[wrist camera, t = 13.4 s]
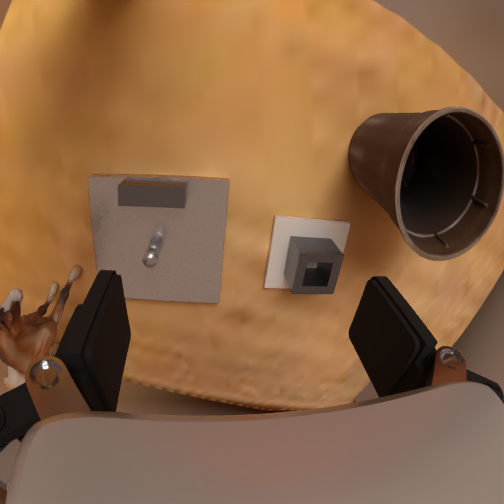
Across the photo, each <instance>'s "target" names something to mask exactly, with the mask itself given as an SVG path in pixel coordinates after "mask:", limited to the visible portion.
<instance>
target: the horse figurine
mask: <svg viewBox="0 0 504 504" xmlns="http://www.w3.org/2000/svg"><path fill="white" fill-rule="evenodd" d="M81 272H82V268H81V266H78V265H76V266H75V267H74V268H73V269H72V272H71V274H70V276H69V279H68V282H67V284H66V285H65V287H64V288H63V289H62V290H61V292H60V297H59V300H58V302H57V304H56V306H55V307H54V310H53V312H52V314H51V315H50V316H48V317H42V316H43V315H44V314H45V313H46V312H47V308H48V306H49V305H50V303H52V301H53V295H54V294H55V293H56V291H57V289H58V288H59V286H58V283H57V282H55V281H53V282H52V283H51V287H50V293H49V295H48V297H47V299H46V303H45V304H44V305H42V306H40V307H39V308H38V310H37V311H36V312H34V313H31V314H28V315H23V316H20V314H21V311H20V305H21V302H22V299H23V292H22V290H19V289H18V288H14V289H12V290H10V294H9V297H8V298H7V299H6V301H5V302H4V303H3V304H2V305H1V306H0V359H1V360H2V361H3V362H4V363H5V364H7V365H8V374H7V375H6V376H5V377H4V382H5V385H6V386H7V388H8V390H9V391H10V390H12V389H14V388H16V387H18V386H19V385H21V384H23V383H25V372H26V369H27V367H28V366H29V365H30V364H31V363H32V361H34V360H36V359H37V358H40V357H43V356H50V353H49V348H50V346H51V345H52V343H53V341H54V339H55V337H56V335H57V324H58V322H59V320H60V319H61V316H62V313H63V310H64V305H65V303H66V301H67V299H68V296H69V290H70V288H71V286H72V284H73V282H74V281H75V279H76V277H78V276H79V275H80V274H81ZM58 346H59V343H57V342H54V343H53V352H52V354H51V356H53V357H54V356H55V354H56V351H57V349H58Z"/></svg>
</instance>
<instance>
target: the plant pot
mask: <svg viewBox="0 0 504 504" xmlns="http://www.w3.org/2000/svg"><path fill="white" fill-rule="evenodd" d="M413 151H415V160H414V165H413V167H411V163H412V153H413ZM349 164H350V169H351V172H352V174H353V177H354V178H355V179H356V181H357V182H358V184H359V185H360V186H361V187H362V188H363V189H364V190H365V191H366V192H367V193H368V194H369V195H370V196H371V197H372V198H374V199H375V200H376V201H377V202H378V203H379V204H380V205H381V206H382V207H383V208H384V209H385V210H386V211H387V212H388V213H389V215H390V217H391V219H392V220H393V222H394V223H395V224H396V226H397V227H398V228H399V230H400V232H401V234H402V236H403V238H404V240H405V241H406V243H407V244H408V245H409V246H410V247H411V248H412V250H413V251H415V252H416V253H417V254H418V255H420V256H422V257H424V258H426V259H429V260H434V261H444V260H450V259H453V258H456V257H458V256H460V255H462V254H464V253H465V252H467V251H468V250H470V249H471V248H472V247H473V246H474V245H475V244H476V243H478V241H479V240H480V239H481V238H482V237H483V236H484V234H485V233H486V232H487V230H488V229H489V227H490V226H491V224H492V222H493V220H494V219H495V216H496V214H497V212H498V209H499V206H500V203H501V200H502V196H503V190H504V155H503V150H502V147H501V143H500V141H499V138H498V136H497V134H496V132H495V130H494V129H493V127H492V126H491V124H490V123H489V122H488V121H487V120H486V119H485V118H484V117H483V116H482V115H480V114H479V113H477V112H475V111H473V110H471V109H468V108H464V107H448V108H444V109H441V110H431V111H426V112H423V113H381V114H376V115H373V116H371V117H369V118H368V119H367V120H366V121H365V122H364V123H363V124H361V125H360V126H359V127H358V128H357V130H356V131H355V133H354V135H353V137H352V140H351V144H350V149H349Z"/></svg>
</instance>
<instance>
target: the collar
mask: <svg viewBox="0 0 504 504" xmlns="http://www.w3.org/2000/svg"><path fill="white" fill-rule="evenodd" d="M343 257H344V254H343V253H342V252H341V251H340V249H339V248H338V247H337V246H336V244H335V243H334V242H333V241H332V239H329V238H314V237H298V236H291V237H290V242H289V248H288V253H287V259H286V264H285V269H284V276H285V279H286V281H287V284H288V286H289V289H290V292H291V294H333V293H334V289H335V286H336V282H337V279H338V275H339V272H340V268H341V264H342V261H343ZM307 262H318V263H317V267H316V268H306V266H307Z"/></svg>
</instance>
